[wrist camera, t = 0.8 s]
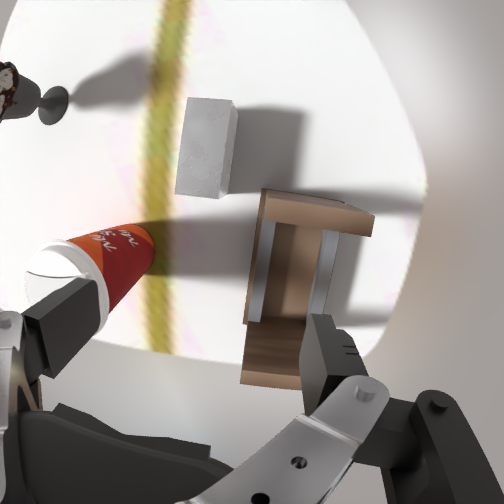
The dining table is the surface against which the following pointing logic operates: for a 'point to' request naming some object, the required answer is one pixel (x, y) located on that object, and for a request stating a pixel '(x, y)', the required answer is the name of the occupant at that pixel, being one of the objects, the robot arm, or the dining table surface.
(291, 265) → the wooden holder
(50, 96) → the sundae
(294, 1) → the dining table surface
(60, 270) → the paper cup
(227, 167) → the metal block
